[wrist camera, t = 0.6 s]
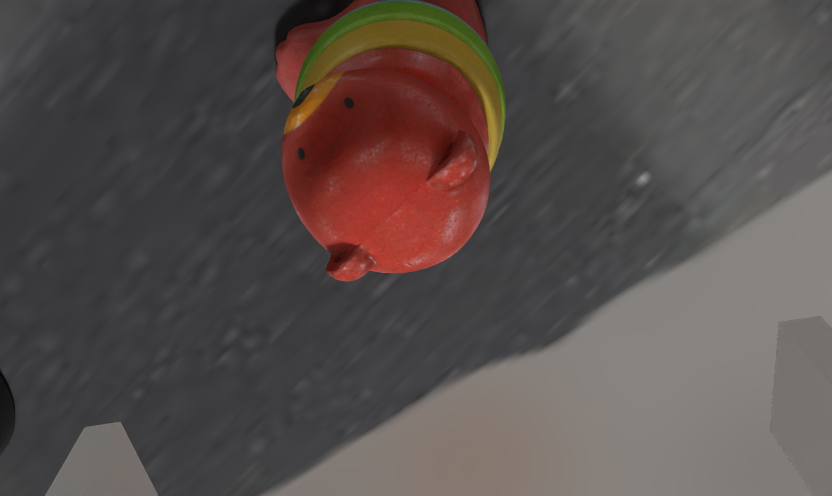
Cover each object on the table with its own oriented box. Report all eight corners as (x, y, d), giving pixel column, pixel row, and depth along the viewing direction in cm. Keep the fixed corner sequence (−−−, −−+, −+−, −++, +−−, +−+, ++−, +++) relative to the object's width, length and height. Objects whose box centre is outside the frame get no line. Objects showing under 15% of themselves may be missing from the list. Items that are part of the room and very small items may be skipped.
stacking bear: (416, -87, 33) (412, -47, 18) (537, 75, 37) (624, 227, 21) (259, 58, 37) (138, 200, 21) (384, 193, 40) (362, 399, 25)
